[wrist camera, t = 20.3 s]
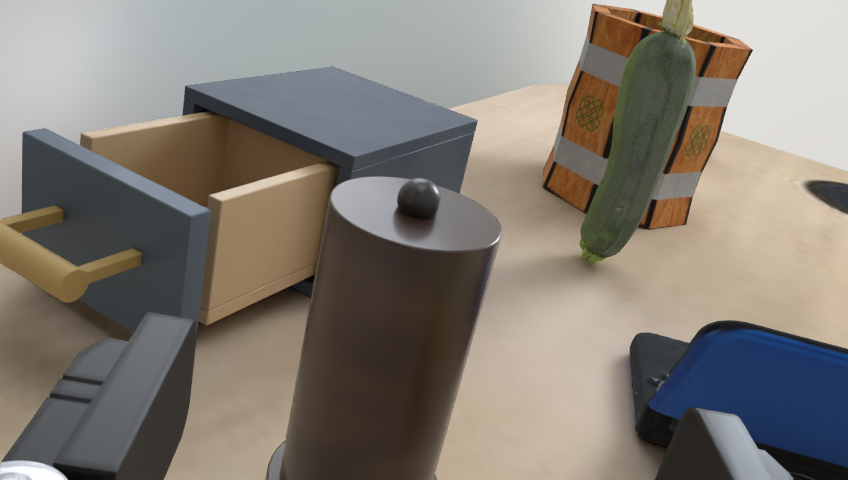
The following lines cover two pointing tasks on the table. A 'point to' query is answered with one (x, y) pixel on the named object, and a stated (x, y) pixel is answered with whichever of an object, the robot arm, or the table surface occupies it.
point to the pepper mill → (387, 331)
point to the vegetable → (642, 132)
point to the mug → (596, 104)
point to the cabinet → (346, 125)
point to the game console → (750, 391)
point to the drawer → (167, 217)
